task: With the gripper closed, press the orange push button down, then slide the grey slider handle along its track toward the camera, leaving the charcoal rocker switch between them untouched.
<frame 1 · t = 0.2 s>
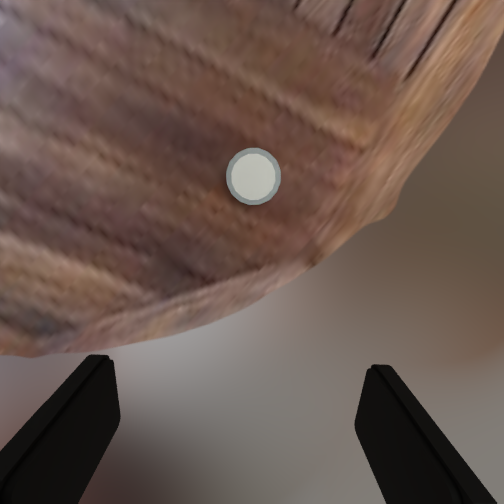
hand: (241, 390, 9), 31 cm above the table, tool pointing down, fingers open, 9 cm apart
shot glass: (252, 177, 37), on the table
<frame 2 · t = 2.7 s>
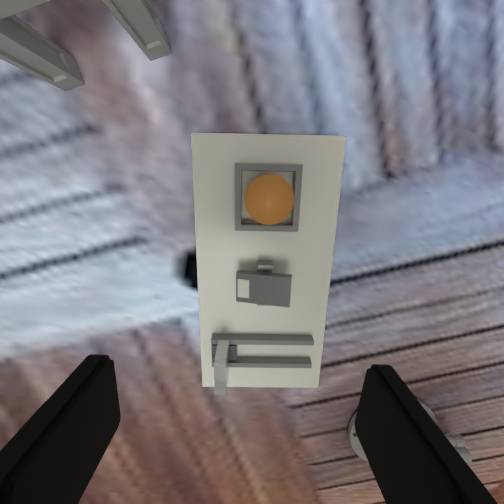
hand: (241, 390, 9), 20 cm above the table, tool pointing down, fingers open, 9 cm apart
rocker switch: (264, 286, 25), point 4 cm above the table, hinge at 12.0°
switch panel: (263, 273, 29), on the table
stool: (92, 4, 22), on the table
grey slider handle: (222, 361, 27), point 5 cm above the table, slide at 0.0 cm
push button: (268, 199, 22), point 5 cm above the table, slide at 0.0 cm
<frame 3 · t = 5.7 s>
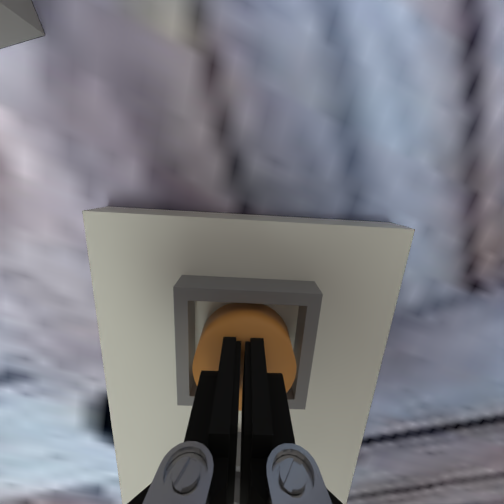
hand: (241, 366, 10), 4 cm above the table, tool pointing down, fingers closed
rocker switch: (234, 500, 13), point 4 cm above the table, hinge at 12.0°
switch panel: (239, 428, 17), on the table
push button: (244, 354, 11), point 3 cm above the table, slide at 1.2 cm, touching gripper
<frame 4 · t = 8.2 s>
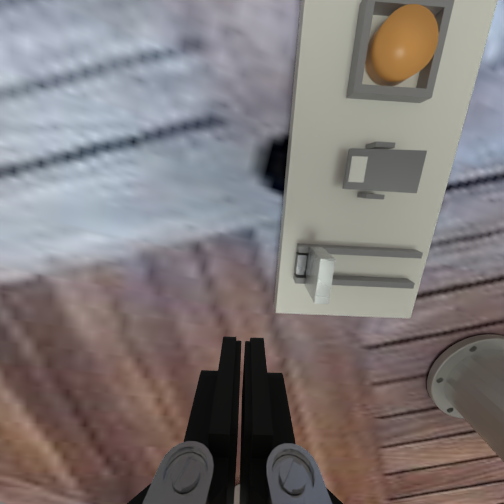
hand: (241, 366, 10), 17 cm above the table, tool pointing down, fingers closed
shot glass: (250, 491, 38), on the table
rocker switch: (380, 171, 20), point 4 cm above the table, hinge at 12.0°
switch panel: (360, 172, 24), on the table
grey slider handle: (316, 271, 22), point 5 cm above the table, slide at 0.0 cm
push button: (399, 48, 19), point 3 cm above the table, slide at 1.5 cm
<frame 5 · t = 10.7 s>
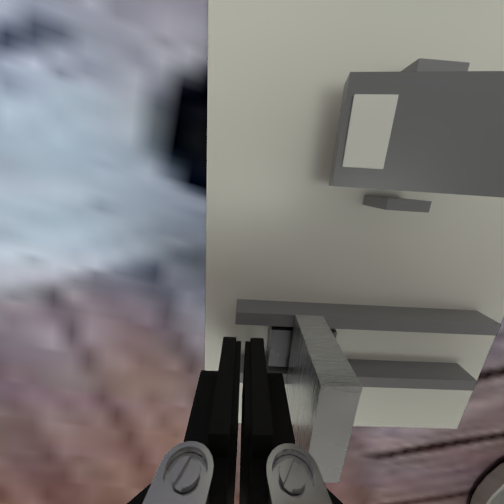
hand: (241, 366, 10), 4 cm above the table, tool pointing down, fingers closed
rocker switch: (425, 140, 8), point 4 cm above the table, hinge at 12.0°
switch panel: (368, 153, 12), on the table
grey slider handle: (310, 374, 10), point 5 cm above the table, slide at 1.7 cm, touching gripper
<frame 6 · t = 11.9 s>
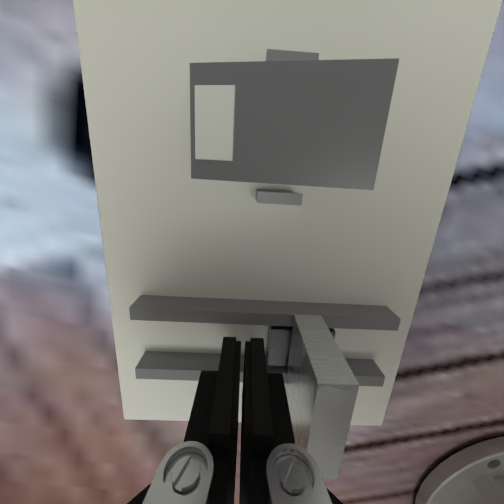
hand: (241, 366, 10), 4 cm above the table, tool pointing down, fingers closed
rocker switch: (283, 132, 8), point 4 cm above the table, hinge at 12.0°
switch panel: (273, 148, 12), on the table
grey slider handle: (308, 373, 10), point 5 cm above the table, slide at 6.2 cm, touching gripper
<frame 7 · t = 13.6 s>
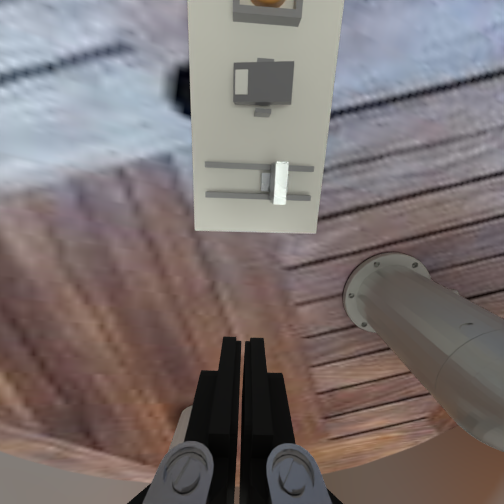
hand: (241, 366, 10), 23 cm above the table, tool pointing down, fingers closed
shot glass: (197, 416, 41), on the table
rocker switch: (263, 85, 23), point 4 cm above the table, hinge at 12.0°
switch panel: (260, 98, 27), on the table
grey slider handle: (277, 182, 26), point 5 cm above the table, slide at 6.3 cm
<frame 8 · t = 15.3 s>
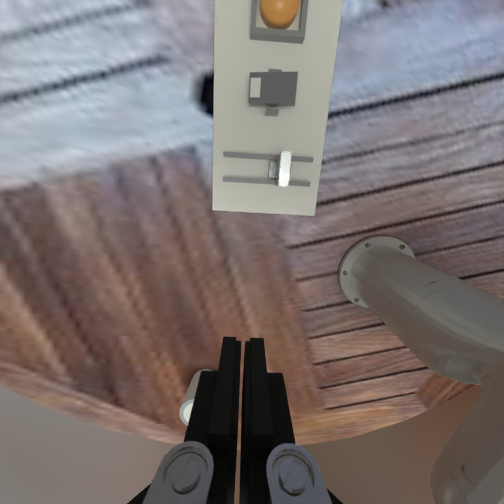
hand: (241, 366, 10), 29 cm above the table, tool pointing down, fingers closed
shot glass: (207, 380, 46), on the table
rocker switch: (273, 90, 29), point 4 cm above the table, hinge at 12.0°
switch panel: (270, 101, 33), on the table
grey slider handle: (282, 169, 31), point 5 cm above the table, slide at 6.3 cm
push button: (279, 2, 27), point 3 cm above the table, slide at 1.5 cm
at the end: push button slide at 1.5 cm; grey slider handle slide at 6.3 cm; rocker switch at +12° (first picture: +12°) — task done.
